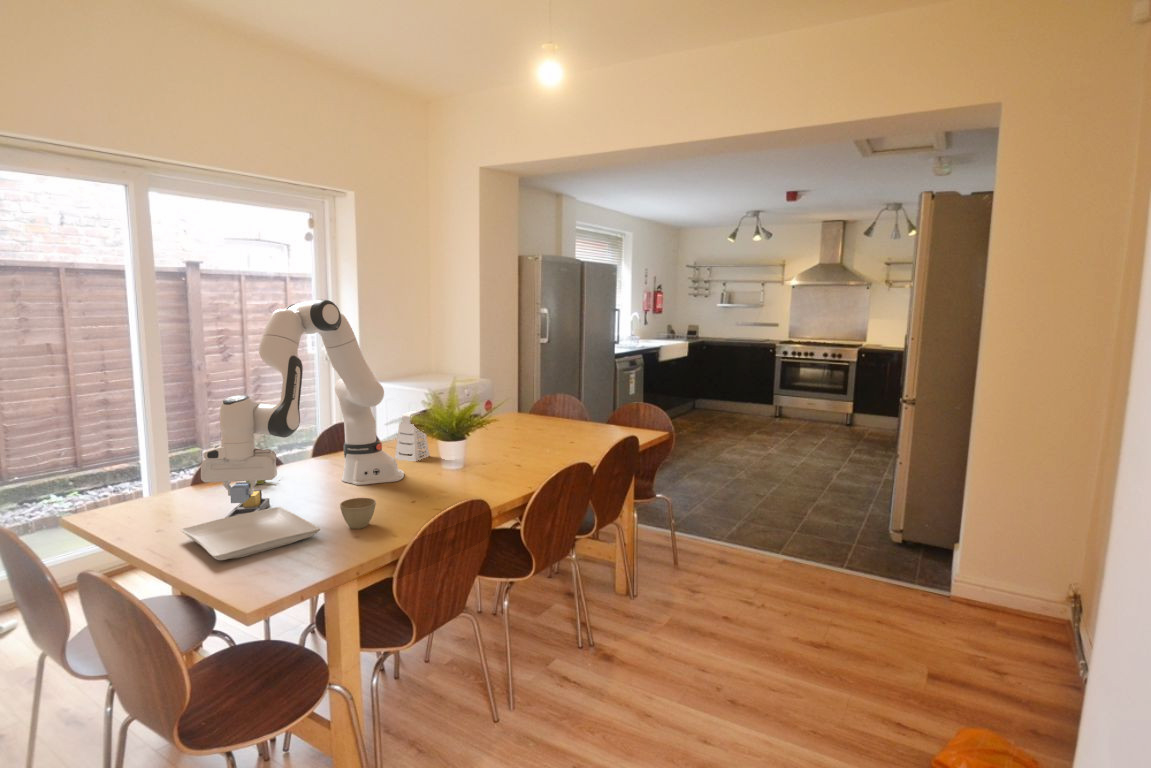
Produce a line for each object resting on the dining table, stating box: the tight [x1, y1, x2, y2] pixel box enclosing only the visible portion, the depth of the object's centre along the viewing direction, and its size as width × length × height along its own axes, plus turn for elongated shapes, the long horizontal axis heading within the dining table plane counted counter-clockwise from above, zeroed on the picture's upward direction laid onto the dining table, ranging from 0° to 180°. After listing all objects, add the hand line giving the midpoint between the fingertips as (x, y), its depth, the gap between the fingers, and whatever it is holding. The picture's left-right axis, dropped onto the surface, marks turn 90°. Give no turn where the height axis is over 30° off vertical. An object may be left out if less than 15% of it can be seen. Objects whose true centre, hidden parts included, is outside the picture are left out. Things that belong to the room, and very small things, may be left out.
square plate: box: [180, 506, 321, 561], centre depth 167 cm, size 27×27×4 cm
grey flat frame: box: [224, 497, 270, 518], centre depth 187 cm, size 8×18×2 cm, turn 12°
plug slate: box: [230, 481, 251, 504], centre depth 181 cm, size 4×6×5 cm, turn 12°
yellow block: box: [243, 489, 263, 507], centre depth 191 cm, size 4×6×5 cm, turn 12°
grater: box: [394, 410, 431, 463], centre depth 258 cm, size 10×10×20 cm
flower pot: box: [339, 497, 377, 530], centre depth 178 cm, size 10×10×7 cm
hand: (240, 494), depth 181 cm, fingers closed on plug slate, 4 cm apart
